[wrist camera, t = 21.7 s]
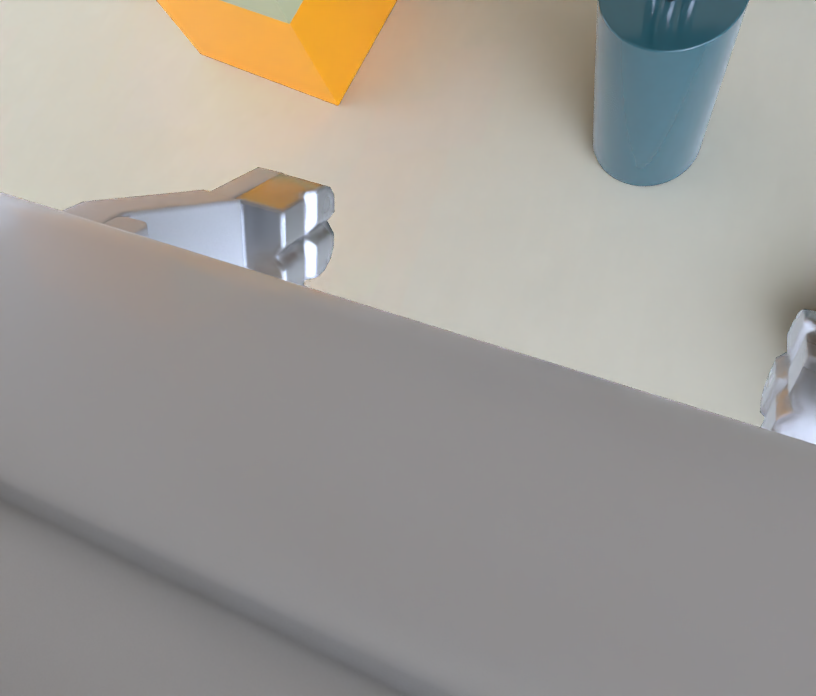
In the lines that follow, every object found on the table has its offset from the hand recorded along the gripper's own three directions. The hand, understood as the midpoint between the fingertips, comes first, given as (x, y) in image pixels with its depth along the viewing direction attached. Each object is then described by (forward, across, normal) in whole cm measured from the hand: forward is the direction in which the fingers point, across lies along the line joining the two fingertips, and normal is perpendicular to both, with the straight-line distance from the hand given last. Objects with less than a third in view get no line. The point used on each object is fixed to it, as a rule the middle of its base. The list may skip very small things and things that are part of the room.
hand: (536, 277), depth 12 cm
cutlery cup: (+20, 0, +3) cm, 21 cm away
